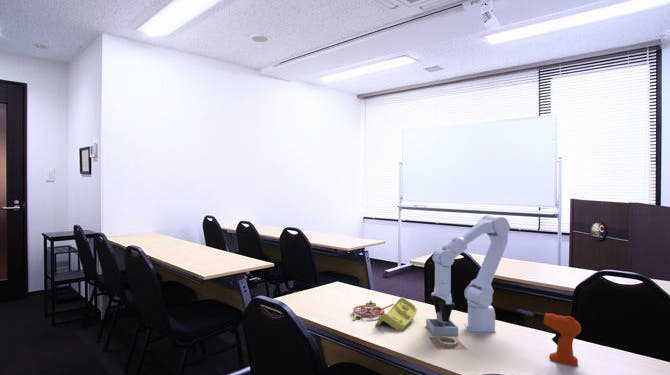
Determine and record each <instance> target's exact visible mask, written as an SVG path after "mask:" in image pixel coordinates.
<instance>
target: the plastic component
mask: <svg viewBox="0 0 670 375" xmlns="http://www.w3.org/2000/svg"><path fill="white" fill-rule="evenodd" d="M417 311H418V309H417V307H416V306H415V305H414V304H413V303H412V301H409V300H408V299H406V298H405V297H400V298H399V299H398V300H397V302H396V303H395V304H394V305H393V306H391V308H390V310H389V311H387V313H385V312H384V314H383V315H380V318H379V319H378V320H377V322H376V323H375V325H376V326H378V327H380V325H381V324H382V323H384V322H385V323H386V324H387V325H389V326H390V327H391V328H393V329H395V330H396V331H403V330H405V329H406V327H407V326H409V324H410V323H411V322H412V320H413V318H414V317H415V316H416V315H417Z"/></svg>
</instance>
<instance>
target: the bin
mask: <svg viewBox="0 0 670 375" xmlns="http://www.w3.org/2000/svg"><path fill="white" fill-rule="evenodd" d="M425 319H426V321H425V322H426V323H425V324H426V325H425V326H426V327H427V329H428V330H429V332H430V333H431V334H432V335H433V336H459V327H458V325H457V324H456V323H455V322H454V321H453V320H451V318H450V319H449V322H448V327H436V325H437V318H425Z"/></svg>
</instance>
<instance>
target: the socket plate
mask: <svg viewBox="0 0 670 375" xmlns="http://www.w3.org/2000/svg"><path fill="white" fill-rule="evenodd" d="M428 339H429V340H430V341H431V343H432V344H433V345H434V346H435V348H436V349H437V350H464V351H465V350H468V349H467V347H466V346H465V345H464V344H463V343H462V341H460V340H459V338H457V337H451V336H449V335H440V336H439V337H436V336H430V337H428Z"/></svg>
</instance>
